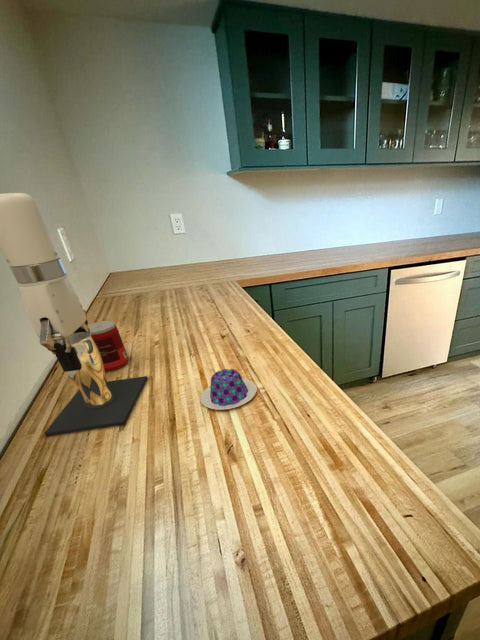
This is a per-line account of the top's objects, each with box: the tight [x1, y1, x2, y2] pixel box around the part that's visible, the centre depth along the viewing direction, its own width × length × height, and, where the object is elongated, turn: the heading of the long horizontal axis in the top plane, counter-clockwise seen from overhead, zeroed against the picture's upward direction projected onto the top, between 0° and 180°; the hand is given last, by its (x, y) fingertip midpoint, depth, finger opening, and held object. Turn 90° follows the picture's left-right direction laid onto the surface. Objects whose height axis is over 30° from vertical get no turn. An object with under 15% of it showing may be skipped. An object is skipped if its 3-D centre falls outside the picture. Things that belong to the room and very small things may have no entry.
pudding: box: [200, 368, 258, 411], centre depth 71 cm, size 12×12×5 cm
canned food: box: [88, 320, 129, 372], centre depth 88 cm, size 8×8×11 cm
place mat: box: [44, 375, 148, 437], centre depth 74 cm, size 15×18×1 cm
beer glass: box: [57, 332, 116, 409], centre depth 70 cm, size 7×7×15 cm
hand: (81, 360), depth 68 cm, fingers closed on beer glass, 7 cm apart
